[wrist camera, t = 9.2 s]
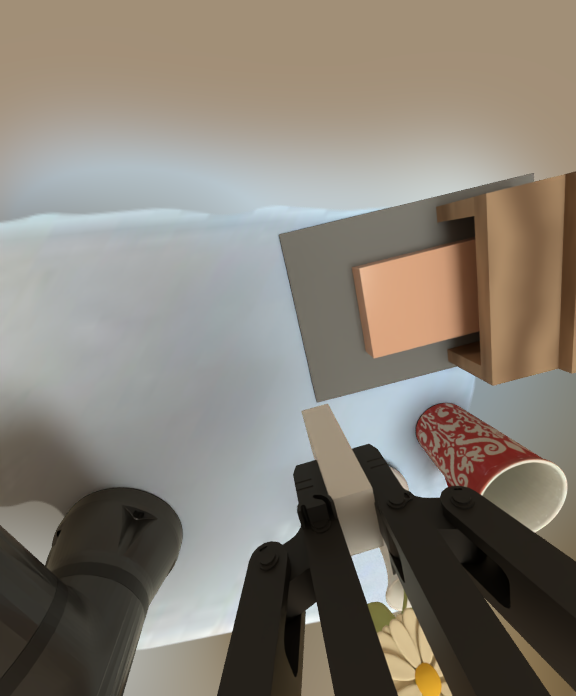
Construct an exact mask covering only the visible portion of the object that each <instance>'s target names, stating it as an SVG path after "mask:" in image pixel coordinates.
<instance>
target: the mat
mask: <svg viewBox="0 0 576 696" xmlns="http://www.w3.org/2000/svg"><path fill="white" fill-rule="evenodd" d="M531 182H534V173H532V174H527V175H524V176H520V177H515V178H511V179H507V180H503V181H498V182H495V183H490V184H487V185H482V186H478V187H474V188H470V189H465V190H461V191H457V192H454V193H449V194H445V195H441V196H437V197H433V198H429V199H424V200H420V201H416V202H412V203H408V204H404V205H400V206H395V207H391V208H387V209H383V210H379V211H375V212H371V213H367V214H362V215H358V216H354V217H350V218H346V219H342V220H338V221H334V222H329V223H325V224H321V225H317V226H313V227H309V228H305V229H301V230H296V231H292V232H288V233H284V234H280V235H279V237H280V242H281V246H282V251H283V255H284V259H285V264H286V268H287V273H288V277H289V281H290V286H291V290H292V295H293V299H294V303H295V308H296V312H297V317H298V321H299V325H300V330H301V334H302V339H303V343H304V348H305V352H306V356H307V361H308V365H309V370H310V374H311V378H312V383H313V387H314V392H315V396H316V400H317V402H321V401H325V400H329V399H333V398H337V397H341V396H345V395H348V394H352V393H356V392H360V391H364V390H368V389H372V388H375V387H379V386H383V385H387V384H391V383H395V382H399V381H402V380H406V379H410V378H414V377H418V376H422V375H426V374H430V373H433V372H437V371H441V370H445V369H449V368H453V367H457V366H456V365H454V364H452V363H451V362H449V361H448V352H447V349H450V348H454V347H458V346H462V345H466V344H470V343H474V342H477V341H480V331H478V332H474V333H470V334H466V335H463V336H459V337H455V338H451V339H447V340H443V341H439V342H436V343H432V344H428V345H424V346H420V347H416V348H412V349H409V350H405V351H401V352H397V353H393V354H389V355H386V356H382V357H378V358H373V357H372V356H370V355H369V354H368V353H367V352H366V349H365V343H364V337H363V331H362V325H361V319H360V313H359V307H358V301H357V295H356V289H355V283H354V277H353V271H352V267H356V266H360V265H364V264H368V263H372V262H376V261H380V260H384V259H388V258H392V257H396V256H400V255H404V254H408V253H412V252H416V251H420V250H424V249H428V248H432V247H436V246H440V245H444V244H448V243H452V242H455V241H459V240H463V239H467V238H471V237H475V219H474V216H471V217H466V218H460V219H455V220H449V221H443V222H438V223H437V213H436V207H437V206H441V205H445V204H449V203H452V202H456V201H460V200H464V199H467V198H471V197H475V196H479V195H482V194H486V193H490V192H494V191H498V190H503V189H507V188H511V187H515V186H519V185H523V184H527V183H531Z"/></svg>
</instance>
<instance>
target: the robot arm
mask: <svg viewBox="0 0 576 696" xmlns="http://www.w3.org/2000/svg"><path fill="white" fill-rule="evenodd" d="M302 415H303V419H304V422H305V426H306V430H307V434H308V437H309V441H310V445H311V449H312V452H313V455H314V459H315V460H314V461H311V462H307V463H304V464H300V465H297V466H296V467H295V470H294V474H293V476H294V481H295V487H296V491H297V497H298V502H299V504H298V506H297V513H298V516H299V519H300V523H301V528H300V529H299V531H298V533H297V534H296V535H295V537H293V538H292V539H291V540H289V541H288V542H286V543H285V544H283V545H282V544H280V543H279V542H272V541H271V542H267V543H264V544H262V545H261V546H259V547H258V548H257V549H256V550H255V551H254V552H253V554H252V556H251V558H250V560H249V564H248V569H247V573H246V577H245V581H244V585H243V589H242V594H241V598H240V602H239V606H238V610H237V615H236V619H235V623H234V627H233V631H232V635H231V640H230V644H229V648H228V652H227V657H226V661H225V665H224V669H223V673H222V677H221V682H220V686H219V690H218V694H217V696H301V687H302V669H303V650H304V632H305V615H306V612H305V610H306V609H308V608H309V607H310V606H312V605H313V604H314V603H316V602H317V606H318V612H319V617H320V622H321V627H322V632H323V637H324V642H325V647H326V653H327V658H328V663H329V668H330V673H331V678H332V683H333V689H334V694H335V696H398V694H397V691H396V688H395V685H394V682H393V679H392V676H391V673H390V670H389V667H388V664H387V661H386V658H385V655H384V652H383V649H382V646H381V643H380V641H379V638H378V635H377V632H376V629H375V626H374V623H373V620H372V617H371V614H370V611H369V608H368V605H367V602H366V599H365V596H364V593H363V590H362V587H361V584H360V581H359V579H358V576H357V573H356V570H355V567H354V564H353V561H352V558H351V556H352V555H355V554H359V553H362V552H365V551H369V550H372V549H375V548H378V547H382V546H384V542H383V539H384V541H385V544H386V546H387V548H388V552H389V557H390V562H391V567H392V572H393V575H395V574H397V576H398V578H399V580H400V582H401V584H402V587H403V589H404V591H405V593H406V595H407V598H408V600H409V602H410V604H411V606H412V608H413V611H414V613H415V615H416V617H417V619H418V622H419V624H420V626H421V628H422V630H423V632H424V635H425V637H426V639H427V641H428V643H429V646H430V648H431V650H432V652H433V654H434V656H435V659H436V661H437V663H438V665H439V667H440V670H441V672H442V674H443V676H444V678H445V681H446V683H447V685H448V687H449V689H450V691H451V694H452V696H551V695H550V694H549V692H548V691H547V689H546V688H545V687H544V685H543V684H542V682H541V681H540V679H539V678H538V676H537V675H536V673H535V672H534V670H533V669H532V668H531V666H530V665H529V663H528V662H527V660H526V659H525V657H524V656H523V654H522V653H521V651H520V650H519V648H518V647H517V645H516V644H515V643H514V641H513V640H512V638H511V637H510V635H509V634H508V632H507V631H506V630H505V628H504V626H503V625H502V624H501V622H500V621H499V619H498V618H497V616H496V615H495V613H494V612H493V610H492V609H491V607H490V606H489V604H488V603H487V602H486V600H487V601H488V602H489V603H490V604H491V605H492V606H493V607H494V608H495V609H496V610H497V611H498V612H499V613H500V614H501V615H502V616H503V617H504V618H505V620H506V621H508V623H509V624H510V625H511V626H512V627H513V628H514V629H515V630H516V631H517V632H518V633H519V634H520V635H521V636H522V637H523V638H524V639H525V640H526V641H527V642H528V643H529V644H530V645H531V646H532V647H533V648H534V649H535V650H536V651H537V652H538V653H539V655H541V657H542V658H543V659H544V660H545V661H546V662H547V663H548V664H549V665H550V666H551V667H552V668H553V669H554V670H555V671H556V672H557V673H558V674H559V675H560V676H561V677H562V678H563V679H564V680H565V681H566V682H567V683H568V684H569V685H570V686H571V687H572V688H573V689H574V690H575V691H576V561H574V560H573V559H571V558H570V557H569V556H567V555H565V554H564V553H563V552H561V551H560V550H559V549H557V548H556V547H554V546H553V545H552V544H550V543H549V542H547V541H546V540H545V539H543V538H542V537H540V536H539V535H537V534H536V533H535V532H533V531H532V530H530V529H529V528H528V527H526V526H525V525H523V524H522V523H520V522H519V521H518V520H516V519H515V518H513V517H512V516H511V515H509V514H508V513H506V512H505V511H503V510H502V509H501V508H499V507H498V506H496V505H495V504H493V503H492V502H491V501H489V500H488V499H486V498H485V497H484V496H482V495H481V494H479V493H478V492H476V491H475V490H473V489H471V488H469V487H464V486H451V487H448V488H446V489H445V490H443V491H442V493H441V496H440V498H422V497H418V496H414V495H413V494H412V493H411V492H410V491H408V490H406V489H404V488H403V487H402V485H401V484H400V482H399V481H398V479H397V478H396V476H395V475H394V473H393V472H392V470H391V469H390V467H389V466H388V464H387V463H386V461H385V459H384V458H383V456H382V455H381V453H380V452H379V450H378V449H377V448H375V447H373V446H372V445H370V444H367V445H363V446H360V447H356V448H353V449H351V447H350V445H349V443H348V441H347V439H346V437H345V435H344V433H343V432H342V430H341V428H340V426H339V424H338V422H337V420H336V418H335V416H334V414H333V413H332V411H331V409H330V407H329V405H328V404H325V405H321V406H318V407H314V408H311V409H307V410H304V411H302ZM182 537H183V533H182V526H181V523H180V520H179V518H178V517H177V515H176V513H175V512H174V511H173V510H172V508H171V507H170V506H169V505H167V504H166V503H165V502H164V501H162V500H161V499H159V498H158V497H156V496H154V495H152V494H149V493H147V492H143V491H140V490H135V489H129V488H112V489H105V490H101V491H98V492H95V493H92V494H90V495H88V496H86V497H84V498H83V499H81V500H80V501H78V502H77V503H76V504H75V505H74V506H73V507H72V508H71V509H70V511H69V512H68V513H67V515H66V516H65V517H64V519H63V520H62V522H61V523H60V525H59V526H58V528H57V530H56V532H55V535H54V538H53V543H52V548H51V550H50V553H49V555H48V558H47V561H46V565H45V566H44V565H43V564H42V563H41V562H40V561H39V560H38V559H37V558H36V557H35V556H33V555H32V554H31V553H30V552H29V551H28V550H27V549H26V548H24V546H22V545H21V544H20V543H19V542H18V541H17V540H16V539H15V538H14V537H13V536H11V535H10V534H9V533H8V532H7V531H6V530H5V529H4V528H2V526H1V525H0V696H123V693H124V689H125V686H126V682H127V679H128V675H129V672H130V668H131V665H132V662H133V658H134V655H135V651H136V648H137V644H138V641H139V638H140V634H141V631H142V627H143V624H144V620H145V617H146V614H147V610H148V607H149V605H150V603H151V601H152V600H153V598H154V596H155V595H156V593H157V591H158V590H159V588H160V586H161V585H162V583H163V581H164V580H165V578H166V577H167V576H168V574H169V573H170V571H171V570H172V569H173V567H174V565H175V563H176V561H177V558H178V555H179V551H180V547H181V543H182ZM382 537H383V538H382ZM484 598H485V599H486V600H485V599H484Z"/></svg>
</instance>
